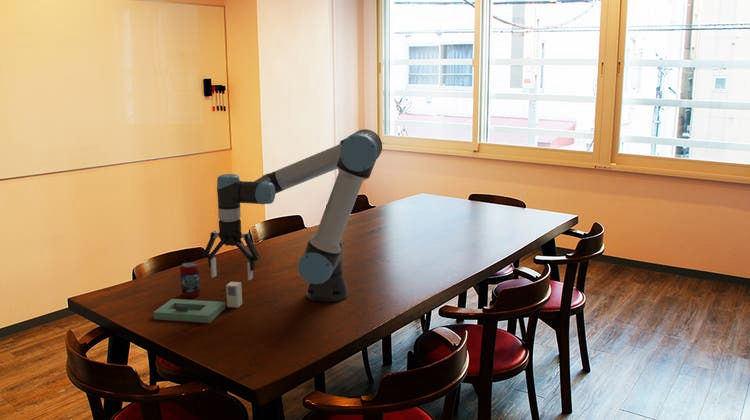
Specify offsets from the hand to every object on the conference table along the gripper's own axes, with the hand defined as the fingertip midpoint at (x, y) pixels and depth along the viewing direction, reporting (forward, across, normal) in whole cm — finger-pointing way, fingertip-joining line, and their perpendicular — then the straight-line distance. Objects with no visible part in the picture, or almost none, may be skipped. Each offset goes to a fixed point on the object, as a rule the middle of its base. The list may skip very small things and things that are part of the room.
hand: (232, 277), depth 241 cm
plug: (+10, -1, 0) cm, 10 cm away
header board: (+10, +11, +10) cm, 19 cm away
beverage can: (+11, +19, -7) cm, 23 cm away
